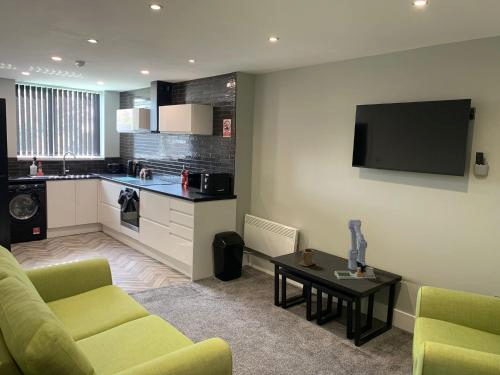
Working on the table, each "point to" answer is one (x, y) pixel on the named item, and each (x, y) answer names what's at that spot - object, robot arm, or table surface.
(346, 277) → the tray
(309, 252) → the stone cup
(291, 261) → the table surface
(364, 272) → the fuse block
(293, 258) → the table surface
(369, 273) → the block
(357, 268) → the block
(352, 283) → the table surface
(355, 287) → the table surface
